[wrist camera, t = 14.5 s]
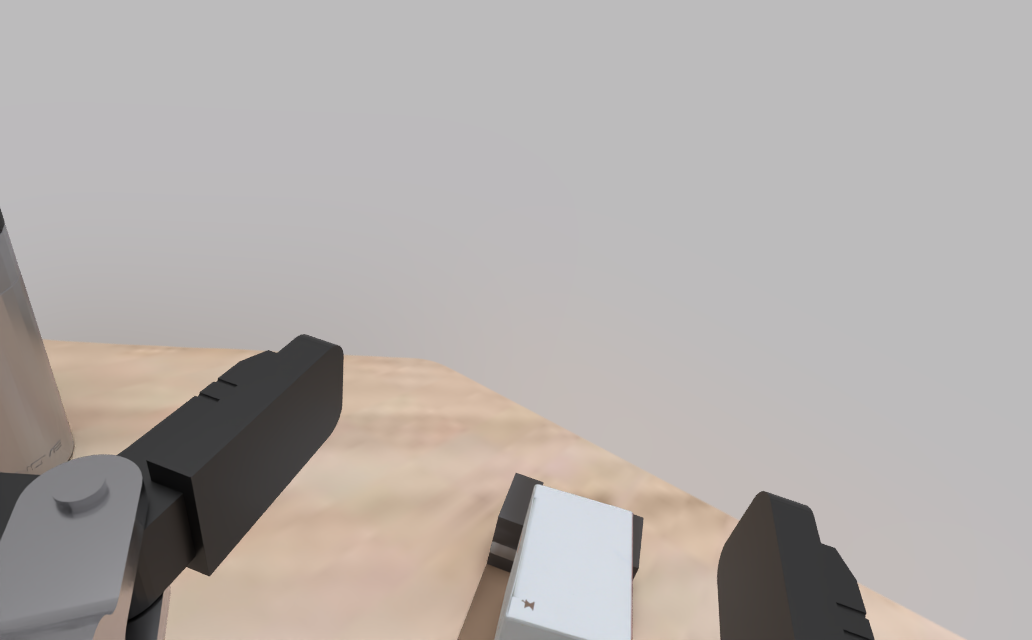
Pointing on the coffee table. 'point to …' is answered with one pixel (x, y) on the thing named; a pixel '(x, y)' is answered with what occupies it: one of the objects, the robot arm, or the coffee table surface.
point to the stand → (511, 560)
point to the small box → (570, 572)
